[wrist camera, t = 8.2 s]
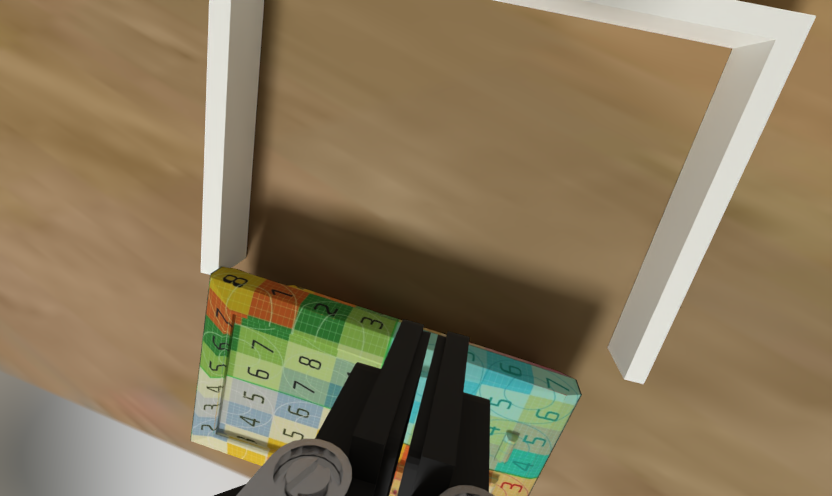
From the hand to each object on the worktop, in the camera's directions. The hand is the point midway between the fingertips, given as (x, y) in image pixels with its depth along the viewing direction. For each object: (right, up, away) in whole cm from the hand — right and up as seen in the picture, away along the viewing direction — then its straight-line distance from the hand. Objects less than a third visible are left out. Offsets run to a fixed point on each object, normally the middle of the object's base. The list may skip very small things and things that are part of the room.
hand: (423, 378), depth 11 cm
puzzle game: (-2, -5, +17) cm, 18 cm away
